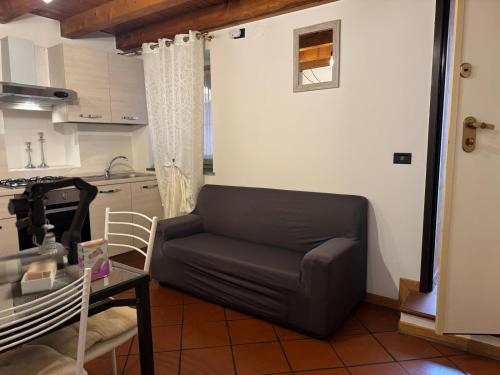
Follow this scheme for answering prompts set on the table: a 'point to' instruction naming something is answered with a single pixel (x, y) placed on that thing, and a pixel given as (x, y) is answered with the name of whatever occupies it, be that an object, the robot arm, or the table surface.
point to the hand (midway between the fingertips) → (40, 245)
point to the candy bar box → (94, 257)
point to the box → (37, 284)
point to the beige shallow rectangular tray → (44, 267)
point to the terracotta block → (35, 275)
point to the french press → (51, 241)
